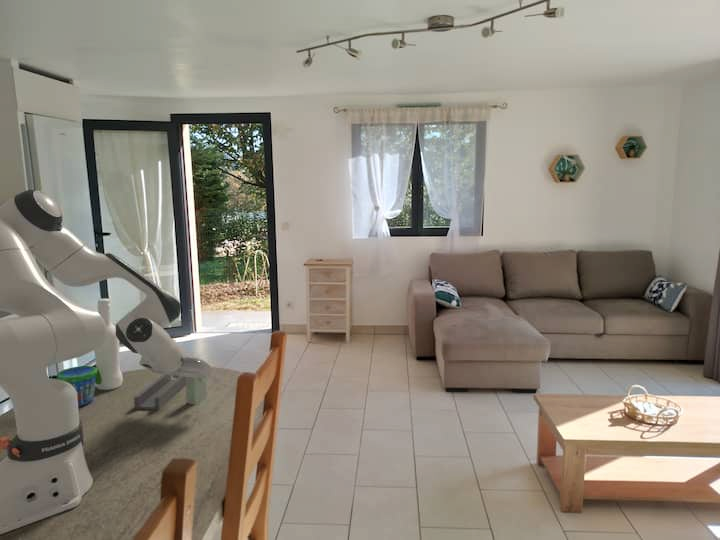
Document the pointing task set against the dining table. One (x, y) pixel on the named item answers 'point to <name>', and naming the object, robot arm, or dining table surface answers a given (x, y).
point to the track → (159, 392)
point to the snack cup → (82, 381)
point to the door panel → (195, 390)
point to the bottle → (108, 352)
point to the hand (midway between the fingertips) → (190, 377)
